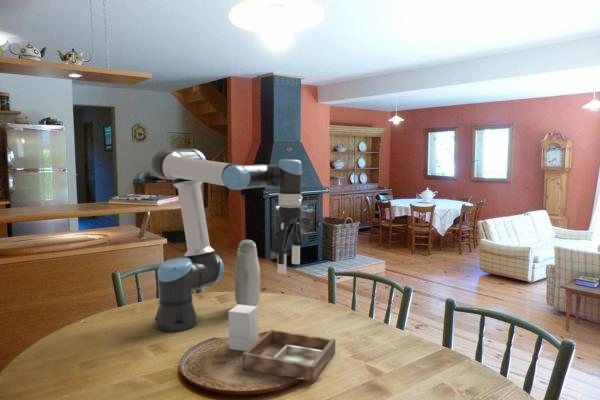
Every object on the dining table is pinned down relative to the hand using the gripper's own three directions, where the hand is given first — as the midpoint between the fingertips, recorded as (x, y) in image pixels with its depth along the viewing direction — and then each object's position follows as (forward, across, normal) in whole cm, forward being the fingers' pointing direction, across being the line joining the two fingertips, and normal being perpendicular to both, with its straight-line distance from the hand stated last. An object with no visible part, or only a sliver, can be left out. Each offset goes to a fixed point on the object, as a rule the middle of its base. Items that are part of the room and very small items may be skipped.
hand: (289, 268), depth 154 cm
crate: (+23, -18, -7) cm, 30 cm away
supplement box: (+24, -13, +10) cm, 29 cm away
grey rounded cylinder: (+24, +21, +25) cm, 40 cm away
